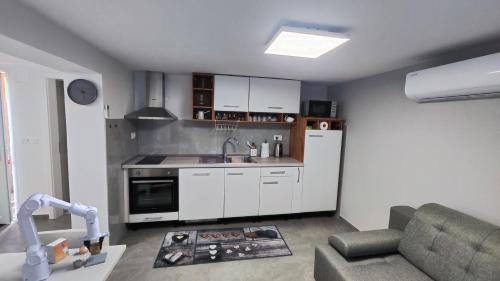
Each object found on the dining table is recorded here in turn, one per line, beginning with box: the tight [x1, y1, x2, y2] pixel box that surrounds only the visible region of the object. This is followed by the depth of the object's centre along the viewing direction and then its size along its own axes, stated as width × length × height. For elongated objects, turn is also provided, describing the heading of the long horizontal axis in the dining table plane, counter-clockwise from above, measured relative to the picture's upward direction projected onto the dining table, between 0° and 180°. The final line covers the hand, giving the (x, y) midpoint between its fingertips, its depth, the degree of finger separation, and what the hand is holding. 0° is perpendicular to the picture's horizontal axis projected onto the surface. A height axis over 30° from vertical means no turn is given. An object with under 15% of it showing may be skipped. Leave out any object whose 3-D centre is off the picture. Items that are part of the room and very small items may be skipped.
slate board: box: [85, 251, 108, 268], centre depth 128 cm, size 9×9×1 cm
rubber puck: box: [72, 259, 83, 270], centre depth 122 cm, size 4×4×3 cm
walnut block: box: [90, 241, 102, 256], centre depth 127 cm, size 4×4×5 cm
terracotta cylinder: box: [78, 245, 89, 255], centre depth 135 cm, size 4×4×3 cm
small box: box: [45, 237, 70, 264], centre depth 129 cm, size 8×6×10 cm
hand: (95, 250), depth 127 cm, fingers closed on walnut block, 4 cm apart
